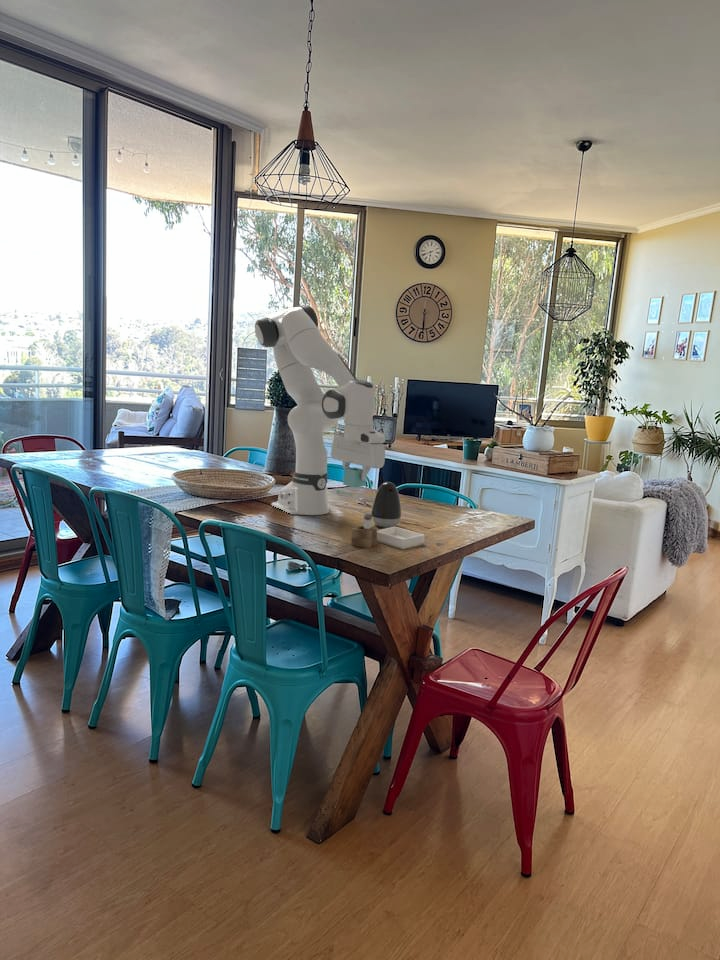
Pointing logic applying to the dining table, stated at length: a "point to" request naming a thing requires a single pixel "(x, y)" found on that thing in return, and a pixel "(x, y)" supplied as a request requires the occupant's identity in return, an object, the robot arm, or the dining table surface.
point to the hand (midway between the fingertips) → (355, 478)
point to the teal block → (353, 477)
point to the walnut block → (364, 536)
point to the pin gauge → (367, 521)
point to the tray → (400, 537)
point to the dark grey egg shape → (386, 506)
